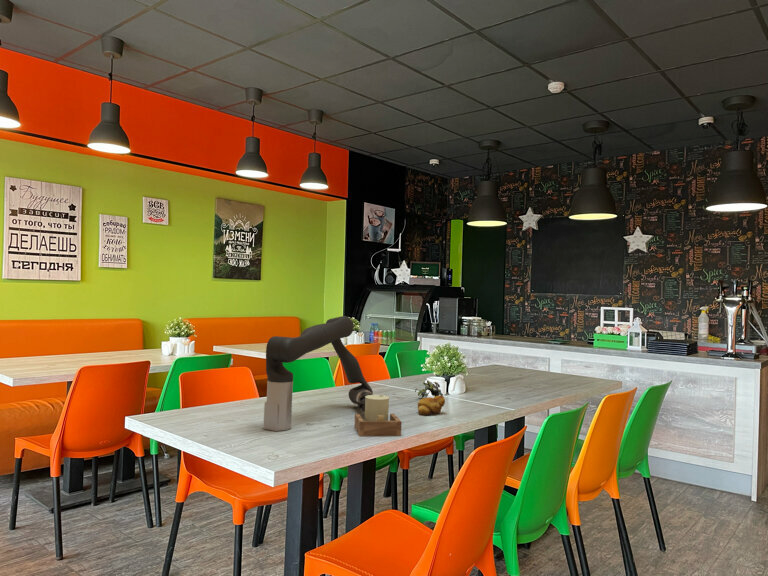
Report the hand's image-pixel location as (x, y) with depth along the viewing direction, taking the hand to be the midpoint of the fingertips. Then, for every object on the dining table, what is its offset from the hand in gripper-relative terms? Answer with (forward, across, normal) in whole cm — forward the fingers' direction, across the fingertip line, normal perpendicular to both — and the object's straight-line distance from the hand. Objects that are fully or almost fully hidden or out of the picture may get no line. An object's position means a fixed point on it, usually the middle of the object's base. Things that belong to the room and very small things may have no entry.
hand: (373, 409), depth 212 cm
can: (+4, 0, +6) cm, 7 cm away
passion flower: (-51, +36, +6) cm, 63 cm away
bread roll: (-21, +28, +6) cm, 35 cm away
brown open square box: (+9, 0, +6) cm, 11 cm away
